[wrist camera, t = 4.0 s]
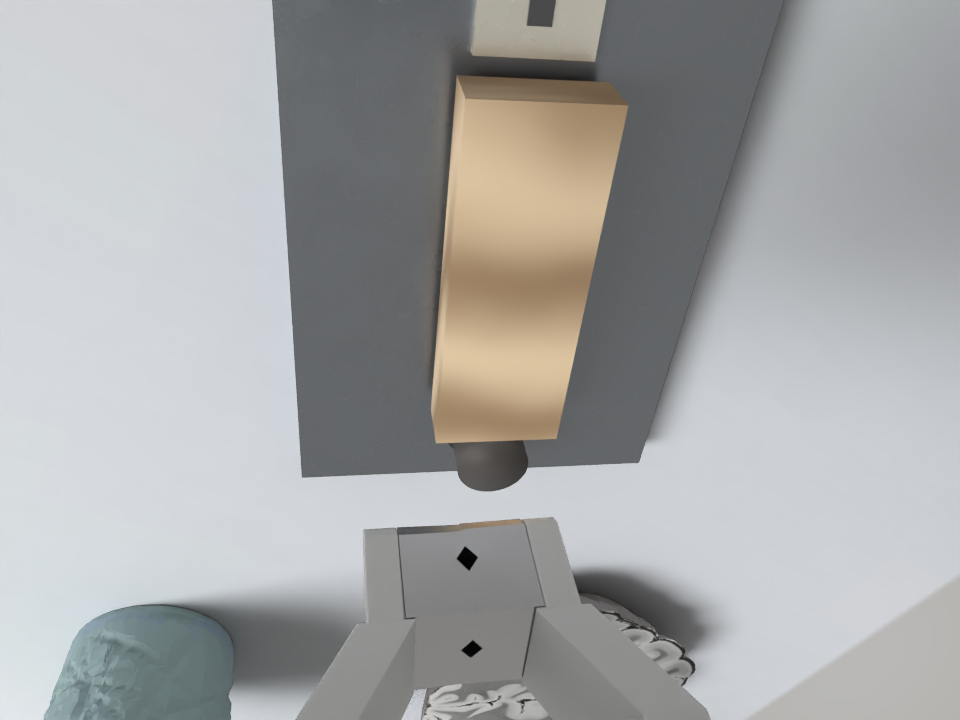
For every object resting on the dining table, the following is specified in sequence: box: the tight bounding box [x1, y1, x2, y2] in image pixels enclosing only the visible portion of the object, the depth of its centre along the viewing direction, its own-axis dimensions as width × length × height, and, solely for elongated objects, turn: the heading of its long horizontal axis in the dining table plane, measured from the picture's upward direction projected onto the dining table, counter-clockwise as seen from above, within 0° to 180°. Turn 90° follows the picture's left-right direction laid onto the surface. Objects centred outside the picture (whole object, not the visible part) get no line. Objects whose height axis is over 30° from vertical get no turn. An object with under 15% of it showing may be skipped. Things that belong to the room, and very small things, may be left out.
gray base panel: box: [272, 0, 784, 478], centre depth 29 cm, size 28×16×2 cm, turn 174°
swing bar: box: [431, 75, 629, 491], centre depth 29 cm, size 17×5×2 cm, turn 174°
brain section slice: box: [421, 593, 695, 720], centre depth 51 cm, size 20×17×3 cm
